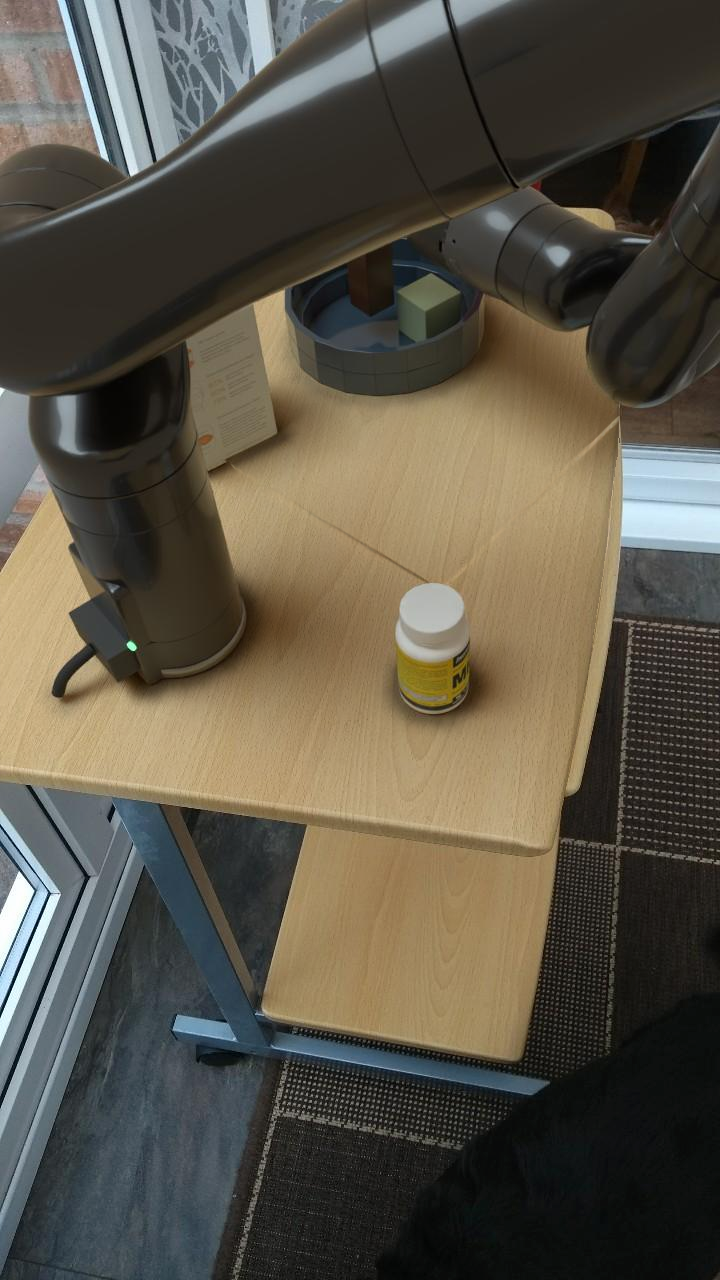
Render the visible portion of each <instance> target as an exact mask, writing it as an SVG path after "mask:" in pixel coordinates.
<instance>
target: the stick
mask: <svg viewBox="0 0 720 1280" xmlns="http://www.w3.org/2000/svg"><path fill="white" fill-rule="evenodd" d="M347 269H348V279H349V290H350V301H351V304H352V305H353V306H355V307H356V308H357V309H359V310H360V311H362V312H363V313H365V314H366V315H368V316H369V317H372V316H374V315H375V314H377V313H379V312H381V311H383V310H385V309H386V308H388V307H390V306H392V305H394V304H395V301H394V283H393V265H392V247H391V243H390V244H388V245H386V246H383V247H381V248H379V249H377V250H374V251H372V252H370V253H368V254H366V255H363V256H361V257H359V258H357V259H354V260H352V261H350V262H348V263H347Z"/></svg>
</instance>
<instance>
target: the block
mask: <svg viewBox="0 0 720 1280" xmlns="http://www.w3.org/2000/svg"><path fill="white" fill-rule="evenodd" d="M396 294H397V313H398V329H399V331H401V332H402V333H404V334H405V335H406V336H408V337H409V338H411V339H412V340H413V341H415V342H420V341H423V340H426V339H430V338H433V337H435V336H437V335H439V334H440V333H442V332H444V331H446V330H447V329H449V328H451V327H453V326H454V325H456V324H457V323H458V322H459V321H460V320H461V292H460V291H458V290H457V289H455V288H454V287H452V286H450V285H449V284H447V283H446V282H444V281H443V280H441V279H440V278H438V277H437V276H435V275H433V274H432V273H431V274H429V275H427V276H425V277H423V278H421V279H419V280H417V281H415V282H413V283H411V284H410V285H408V286H406V287H404V288H402V289H400V290H398V291H397V292H396Z"/></svg>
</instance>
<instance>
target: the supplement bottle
mask: <svg viewBox="0 0 720 1280" xmlns="http://www.w3.org/2000/svg"><path fill="white" fill-rule="evenodd" d="M398 610H399V612H398V613H399V617H398V619H397V622H396V625H395V629H394V639H395V650H396V651H395V652H396V666H397V667H396V668H397V683H398V689H399V690H398V691H399V694H400V696H401V698H402V699H403V701H404V703H406V704H407V706H408V707H410V708H411V709H413V710H415V711H417V712H419V713H423V714H429V715H438V714H444V713H447V712H451V711H452V710H454V709H455V708H457V707H458V706H459V705H461V704H462V702H463V701H464V700H465V698H466V697H467V695H468V691H469V689H470V659H471V658H470V657H471V655H470V654H471V651H470V650H471V627H470V623H469V620H468V619H467V617H466V607H465V601H464V599H463V597H462V595H461V594H460V593H459V592H458V591H457V590H456V589H455V588H453V587H451V586H450V585H447V584H443V583H440V582H439V583H438V582H426V583H422V584H418V585H416V586H414V587H412V588H410V589H408V591H407V592H406V593H405V594H404V595H403V597H402V598H401V600H400V602H399V609H398Z"/></svg>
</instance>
